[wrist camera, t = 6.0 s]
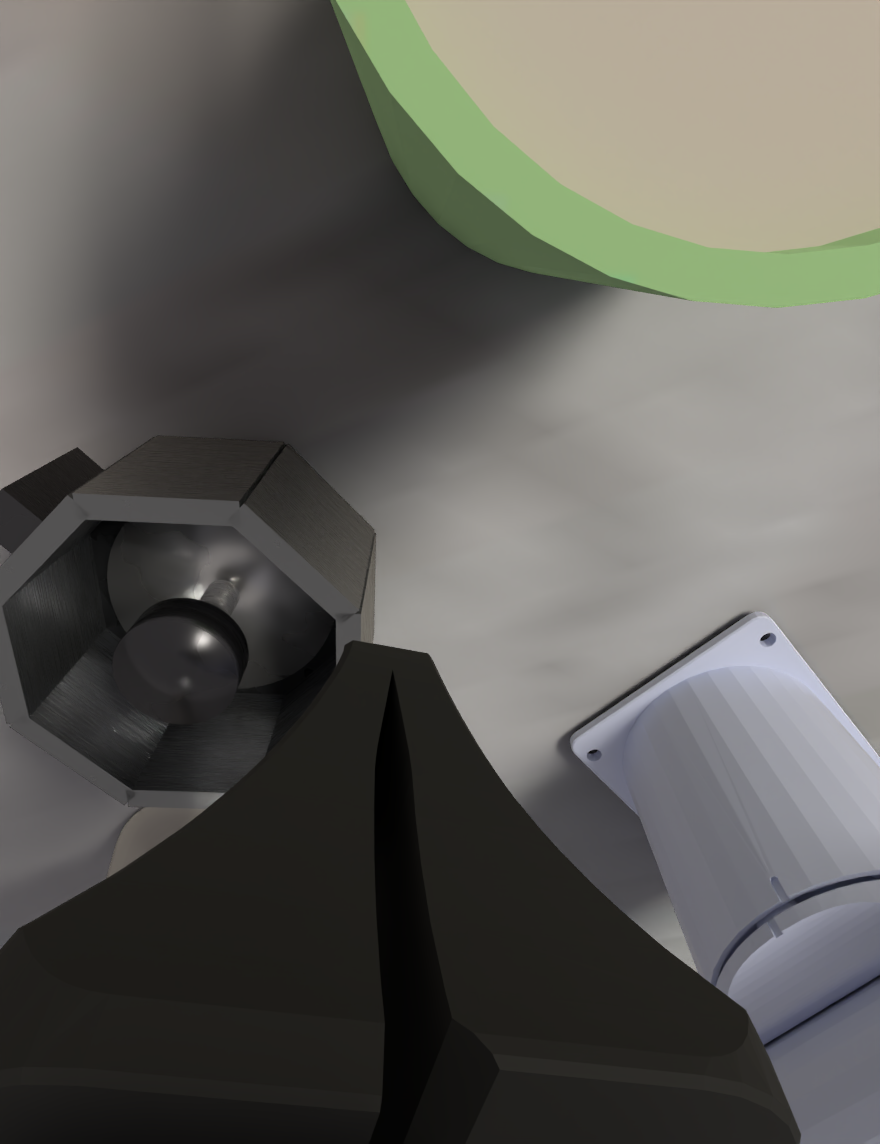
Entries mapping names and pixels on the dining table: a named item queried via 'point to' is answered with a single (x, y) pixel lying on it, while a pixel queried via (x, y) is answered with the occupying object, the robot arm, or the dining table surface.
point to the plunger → (203, 619)
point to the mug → (640, 137)
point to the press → (92, 630)
